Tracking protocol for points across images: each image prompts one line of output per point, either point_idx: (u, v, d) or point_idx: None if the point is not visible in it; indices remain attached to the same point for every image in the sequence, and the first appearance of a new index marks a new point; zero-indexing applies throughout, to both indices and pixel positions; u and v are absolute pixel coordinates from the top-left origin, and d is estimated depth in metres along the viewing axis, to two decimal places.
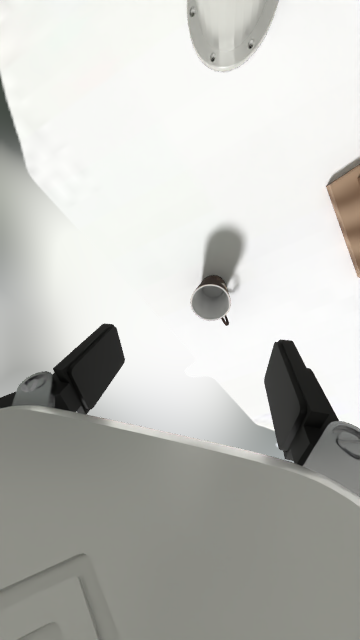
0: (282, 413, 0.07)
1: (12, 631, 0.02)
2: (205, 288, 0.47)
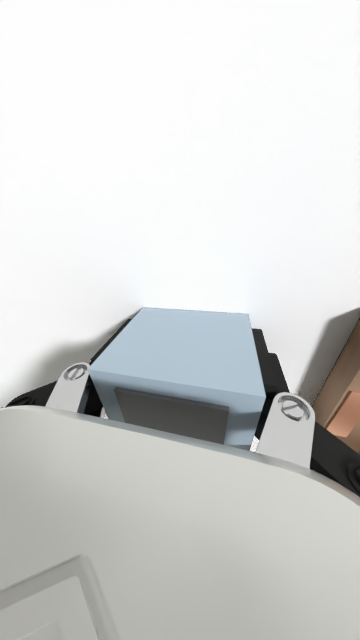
0: None
1: (12, 631, 0.02)
2: None
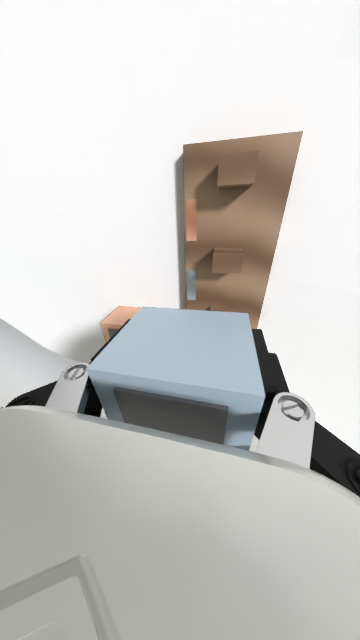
0: None
1: (12, 631, 0.02)
2: None
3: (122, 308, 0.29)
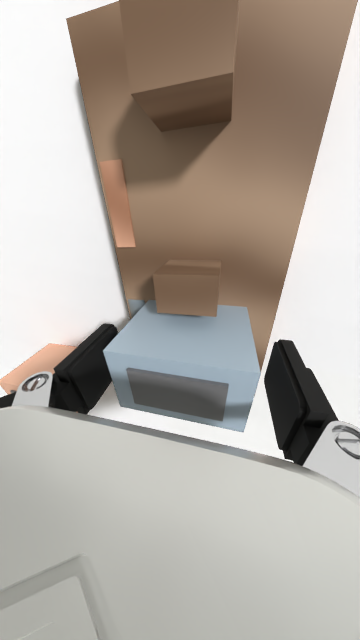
0: (282, 412, 0.07)
1: (12, 631, 0.02)
2: None
3: (51, 348, 0.19)
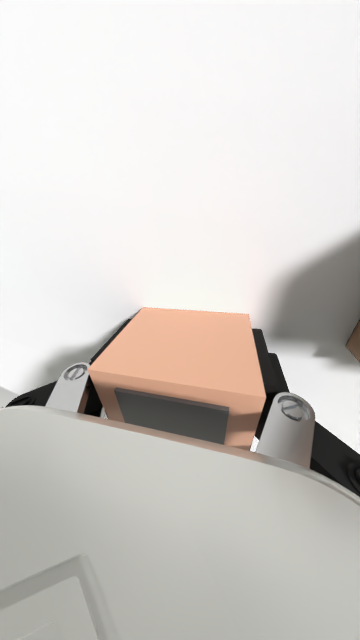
0: None
1: (12, 631, 0.02)
2: None
3: (153, 314, 0.11)
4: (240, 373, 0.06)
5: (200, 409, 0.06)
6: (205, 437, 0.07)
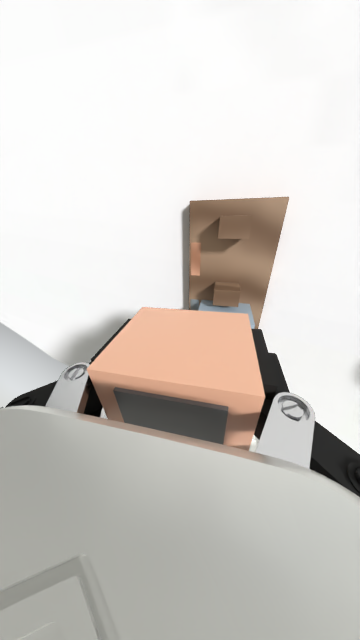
0: None
1: (12, 631, 0.02)
2: None
3: (152, 314, 0.11)
4: (239, 373, 0.06)
5: (198, 408, 0.06)
6: (204, 437, 0.07)
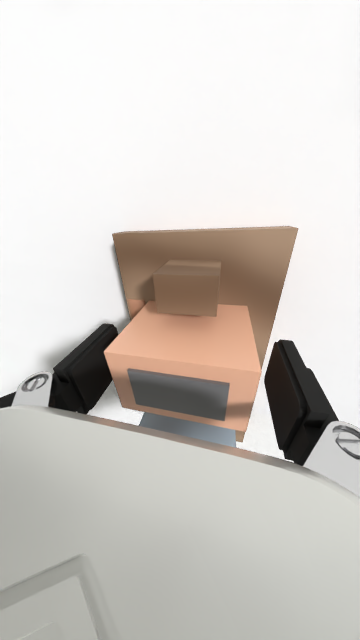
0: (282, 413, 0.07)
1: (12, 631, 0.02)
2: None
3: None
4: (239, 354, 0.07)
5: (203, 385, 0.07)
6: (208, 413, 0.08)
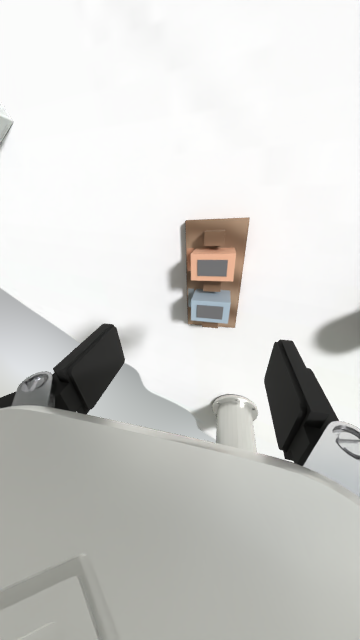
0: (282, 413, 0.07)
1: (12, 630, 0.02)
2: None
3: (201, 248, 0.30)
4: (230, 252, 0.26)
5: (220, 261, 0.26)
6: (221, 273, 0.27)
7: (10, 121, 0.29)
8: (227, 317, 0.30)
